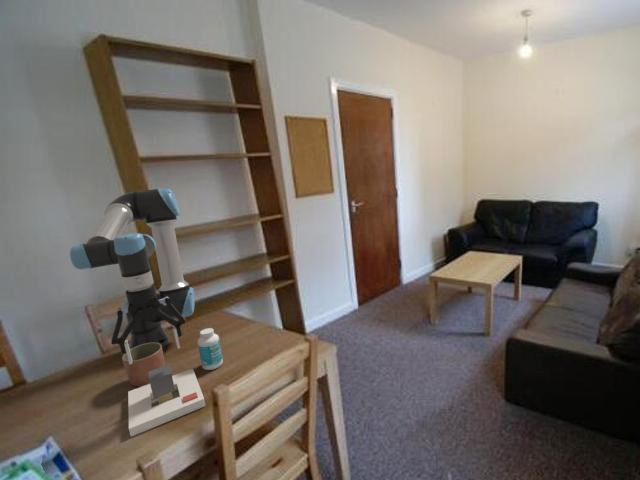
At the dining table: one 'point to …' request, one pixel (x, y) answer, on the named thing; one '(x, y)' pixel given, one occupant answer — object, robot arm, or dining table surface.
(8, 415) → the dining table surface
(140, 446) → the dining table surface
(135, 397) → the socket plate
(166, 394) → the plug
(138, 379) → the planter
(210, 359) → the pill bottle
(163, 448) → the dining table surface
